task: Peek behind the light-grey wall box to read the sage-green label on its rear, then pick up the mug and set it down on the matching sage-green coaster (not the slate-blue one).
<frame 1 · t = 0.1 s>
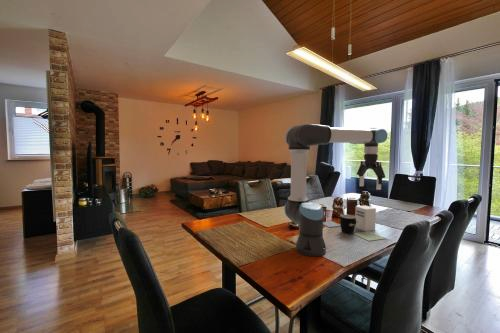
hand: (369, 187, 146), 28 cm above the table, fingers open, 13 cm apart
wall box: (364, 228, 155), on the table
sage coaster: (369, 236, 140), on the table
mug: (349, 232, 148), on the table
slate coaster: (330, 224, 163), on the table
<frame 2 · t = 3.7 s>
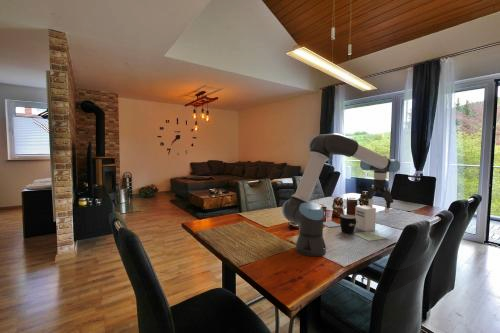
hand: (378, 210, 158), 11 cm above the table, fingers open, 13 cm apart
nothing on the table moved.
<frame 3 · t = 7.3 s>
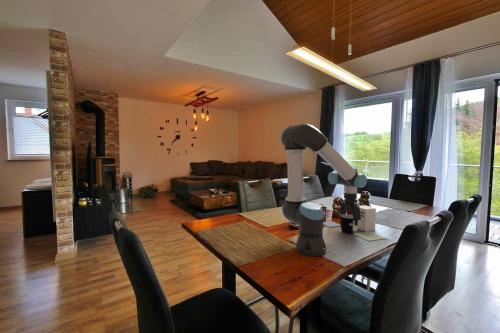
hand: (349, 228, 148), 3 cm above the table, fingers closed on mug, 9 cm apart
mug: (349, 232, 148), on the table, touching gripper
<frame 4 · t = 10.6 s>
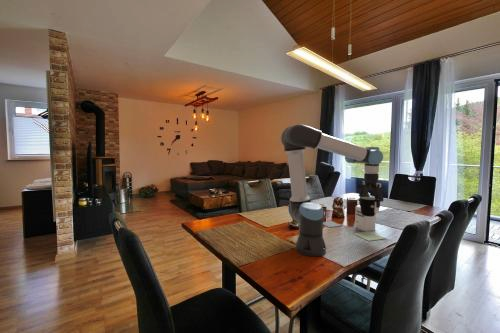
hand: (370, 210, 139), 15 cm above the table, fingers closed on mug, 9 cm apart
mug: (369, 215, 140), point 13 cm above the table, touching gripper
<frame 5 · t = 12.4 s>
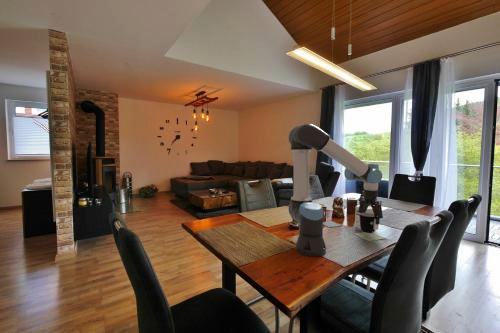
hand: (369, 226, 140), 6 cm above the table, fingers closed on mug, 9 cm apart
mug: (369, 231, 140), point 3 cm above the table, touching gripper
when the fingers open (3 cm above the table, at t = 13.7 s): mug moves 2 cm, resting on sage coaster.
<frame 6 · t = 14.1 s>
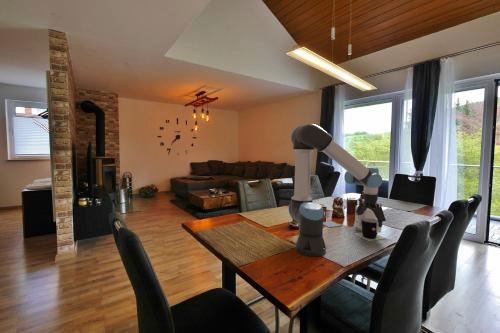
hand: (369, 228, 140), 5 cm above the table, fingers open, 13 cm apart
mug: (371, 236, 139), resting on sage coaster
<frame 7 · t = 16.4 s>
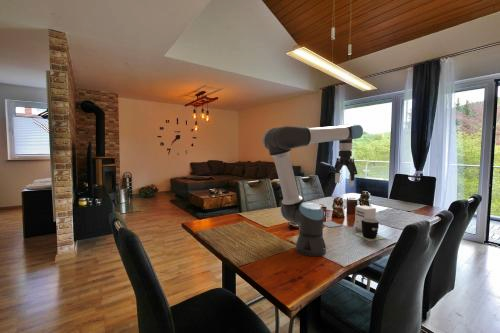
hand: (343, 184, 146), 30 cm above the table, fingers open, 13 cm apart
nothing on the table moved.
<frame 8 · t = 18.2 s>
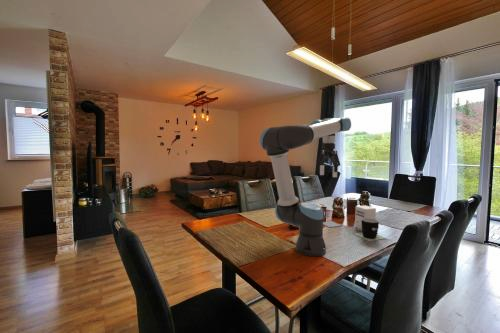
hand: (328, 176, 152), 35 cm above the table, fingers open, 13 cm apart
nothing on the table moved.
at the end: mug inside the target area on the sage coaster (1.5 cm from its centre), point 0.2 cm above the sage coaster's base; mug tilted 0°; the gripper is holding nothing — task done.
